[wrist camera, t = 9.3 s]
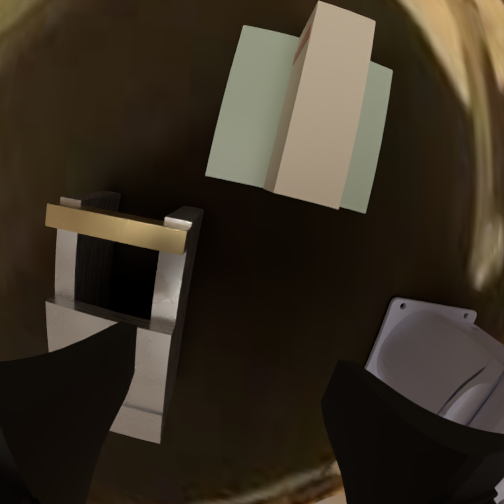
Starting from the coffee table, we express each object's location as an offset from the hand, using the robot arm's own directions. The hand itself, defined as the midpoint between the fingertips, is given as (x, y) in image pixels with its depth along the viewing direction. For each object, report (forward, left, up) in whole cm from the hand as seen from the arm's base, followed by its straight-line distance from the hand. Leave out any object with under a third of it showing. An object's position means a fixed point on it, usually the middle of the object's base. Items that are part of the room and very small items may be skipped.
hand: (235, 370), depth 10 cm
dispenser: (+6, +2, -10) cm, 12 cm away
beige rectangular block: (-2, -11, -9) cm, 14 cm away
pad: (-2, -11, -10) cm, 15 cm away
